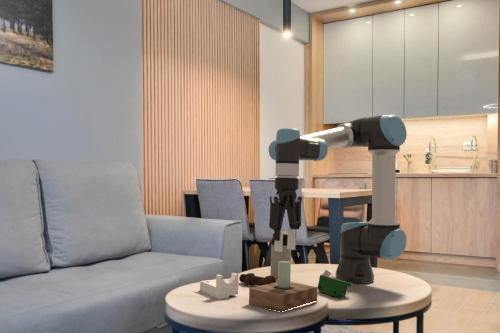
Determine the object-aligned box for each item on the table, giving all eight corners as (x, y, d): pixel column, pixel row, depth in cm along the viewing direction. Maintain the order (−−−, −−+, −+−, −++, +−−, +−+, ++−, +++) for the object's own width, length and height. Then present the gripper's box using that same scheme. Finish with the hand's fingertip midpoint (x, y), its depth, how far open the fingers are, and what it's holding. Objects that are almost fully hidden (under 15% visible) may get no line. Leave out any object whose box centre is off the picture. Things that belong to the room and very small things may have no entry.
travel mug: (290, 279, 189) (292, 233, 190) (270, 278, 189) (271, 233, 190) (289, 275, 197) (290, 231, 198) (270, 274, 197) (271, 231, 198)
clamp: (344, 308, 164) (356, 286, 162) (330, 306, 162) (343, 283, 160) (327, 288, 175) (338, 267, 173) (314, 285, 172) (325, 264, 170)
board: (285, 295, 163) (286, 280, 163) (317, 302, 154) (317, 287, 154) (248, 304, 150) (249, 288, 150) (280, 313, 141) (281, 295, 141)
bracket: (237, 297, 160) (238, 274, 160) (219, 299, 156) (220, 276, 156) (217, 289, 170) (217, 267, 171) (199, 291, 166) (200, 269, 166)
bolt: (242, 287, 181) (273, 293, 171) (234, 282, 178) (264, 288, 168) (248, 273, 183) (278, 278, 173) (240, 268, 180) (270, 272, 170)
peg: (282, 298, 155) (283, 260, 155) (292, 300, 152) (293, 262, 152) (274, 300, 152) (275, 261, 152) (284, 302, 149) (285, 263, 149)
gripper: (295, 177, 162) (294, 246, 162) (258, 176, 149) (256, 251, 148) (313, 178, 157) (312, 249, 156) (276, 176, 144) (274, 254, 143)
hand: (284, 250), depth 152 cm, fingers open, 6 cm apart
